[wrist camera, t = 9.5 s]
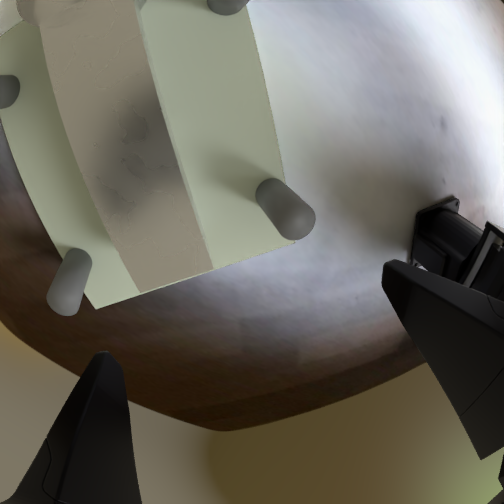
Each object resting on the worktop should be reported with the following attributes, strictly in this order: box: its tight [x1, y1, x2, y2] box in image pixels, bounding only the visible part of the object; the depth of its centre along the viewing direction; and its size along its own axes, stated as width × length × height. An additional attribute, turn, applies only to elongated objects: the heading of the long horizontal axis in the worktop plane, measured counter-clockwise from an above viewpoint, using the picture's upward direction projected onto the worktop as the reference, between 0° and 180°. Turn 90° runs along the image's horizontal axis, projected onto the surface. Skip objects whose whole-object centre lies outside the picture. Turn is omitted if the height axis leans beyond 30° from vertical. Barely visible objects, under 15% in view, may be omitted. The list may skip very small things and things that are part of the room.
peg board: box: [0, 0, 315, 316], centre depth 12 cm, size 15×20×5 cm
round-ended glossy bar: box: [17, 0, 214, 293], centre depth 10 cm, size 6×19×4 cm, turn 12°
